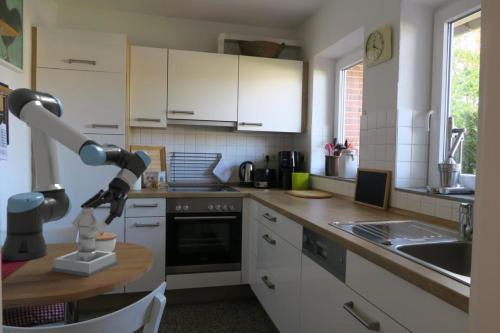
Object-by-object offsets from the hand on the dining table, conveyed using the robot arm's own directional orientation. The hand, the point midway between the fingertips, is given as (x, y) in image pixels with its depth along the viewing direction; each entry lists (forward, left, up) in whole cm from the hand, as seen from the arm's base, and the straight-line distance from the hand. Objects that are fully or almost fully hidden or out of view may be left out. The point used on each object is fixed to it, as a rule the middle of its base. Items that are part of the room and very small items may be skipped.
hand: (86, 228), depth 123 cm
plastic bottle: (0, +1, -13) cm, 13 cm away
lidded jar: (-5, +15, -14) cm, 21 cm away
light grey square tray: (0, +1, -14) cm, 14 cm away
